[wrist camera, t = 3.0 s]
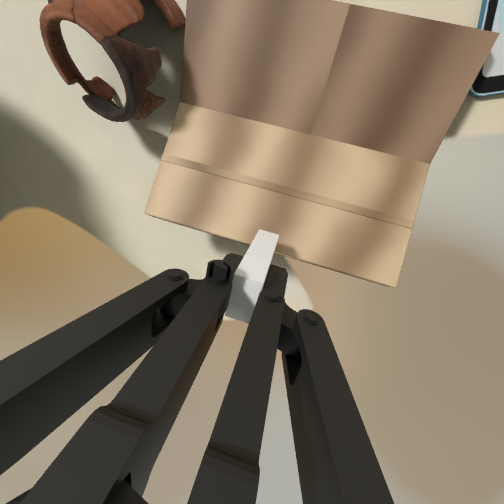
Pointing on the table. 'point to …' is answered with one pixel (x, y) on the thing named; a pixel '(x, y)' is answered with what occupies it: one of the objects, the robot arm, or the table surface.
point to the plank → (289, 192)
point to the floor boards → (332, 70)
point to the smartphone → (500, 57)
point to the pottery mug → (109, 51)
